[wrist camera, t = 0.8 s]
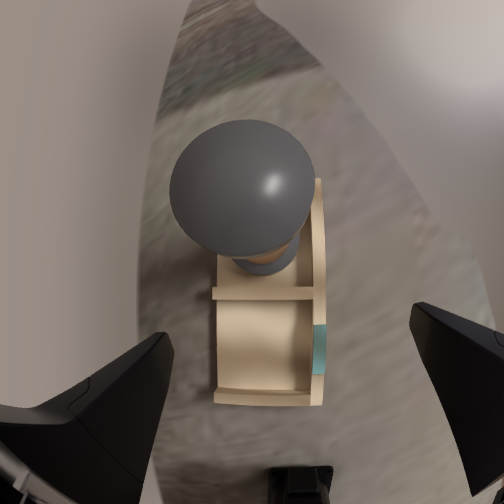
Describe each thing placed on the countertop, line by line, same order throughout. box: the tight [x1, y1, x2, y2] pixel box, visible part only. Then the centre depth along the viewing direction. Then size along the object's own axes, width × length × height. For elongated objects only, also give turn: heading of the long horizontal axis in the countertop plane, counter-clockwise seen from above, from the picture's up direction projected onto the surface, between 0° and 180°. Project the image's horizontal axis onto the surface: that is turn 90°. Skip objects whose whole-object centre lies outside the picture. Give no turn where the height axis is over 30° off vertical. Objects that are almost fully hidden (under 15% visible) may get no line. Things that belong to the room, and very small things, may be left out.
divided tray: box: [212, 178, 327, 406], centre depth 22 cm, size 19×9×3 cm, turn 0°
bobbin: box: [169, 120, 315, 276], centre depth 17 cm, size 6×6×13 cm
